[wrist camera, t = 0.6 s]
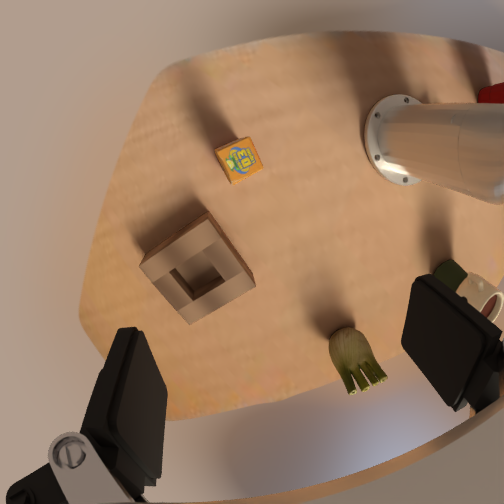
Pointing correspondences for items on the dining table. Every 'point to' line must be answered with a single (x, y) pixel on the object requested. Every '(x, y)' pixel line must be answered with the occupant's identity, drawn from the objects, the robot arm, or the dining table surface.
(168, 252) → the square wooden frame
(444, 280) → the character mug
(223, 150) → the supplement box
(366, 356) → the fennel bulb
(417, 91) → the dining table surface
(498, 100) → the plastic cup
